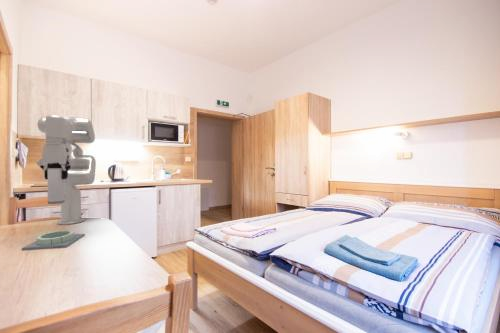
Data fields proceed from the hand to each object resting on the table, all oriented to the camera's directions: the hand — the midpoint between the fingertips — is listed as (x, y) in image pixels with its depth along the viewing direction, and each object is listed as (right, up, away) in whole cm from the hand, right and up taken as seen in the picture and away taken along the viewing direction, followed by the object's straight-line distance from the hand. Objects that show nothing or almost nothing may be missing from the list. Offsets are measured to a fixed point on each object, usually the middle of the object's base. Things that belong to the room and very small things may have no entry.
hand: (56, 178), depth 113 cm
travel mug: (0, -12, 0) cm, 12 cm away
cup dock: (+6, -28, -8) cm, 30 cm away
